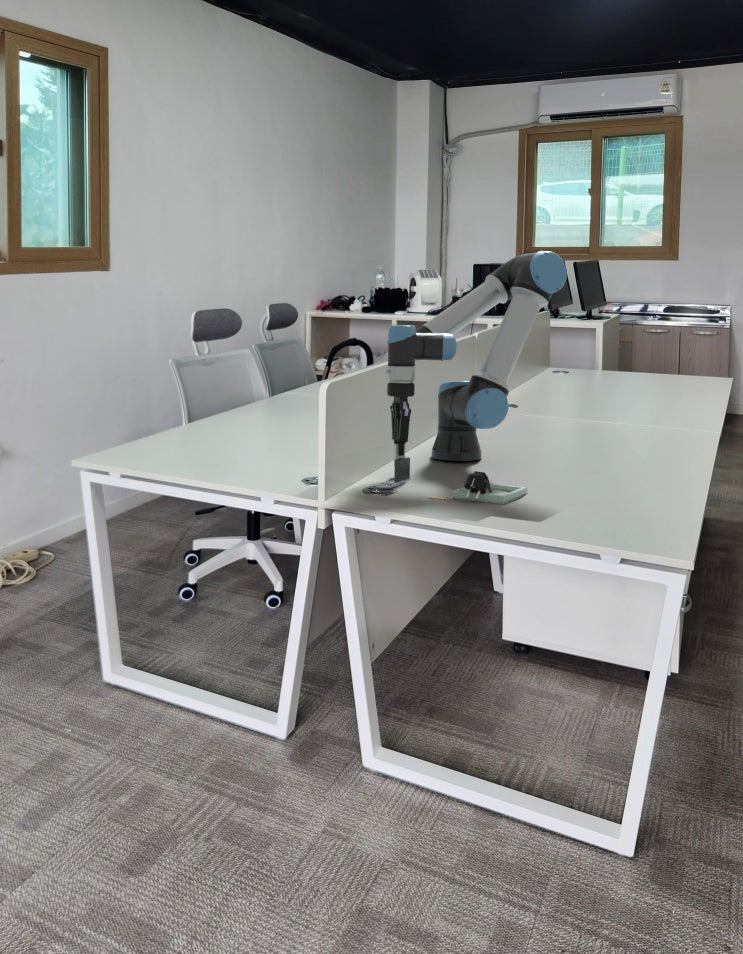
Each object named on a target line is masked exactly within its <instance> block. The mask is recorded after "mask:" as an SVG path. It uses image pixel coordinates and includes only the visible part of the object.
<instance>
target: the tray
mask: <svg viewBox="0 0 743 954" xmlns="http://www.w3.org/2000/svg"><path fill="white" fill-rule="evenodd" d="M490 489H496V490H502V491H509V492H508V493H506V492H505V493H502V492H501V493H499V492H497V493H496V492H491V493H490V492H486V493H485V494H483V493H480V495H479V498H478V500H476V499H475V497H476V494H477V493H474V492H471V493H470V496H469V498H466V495H467V492H468V490H467V489H465V487H464V486H463V487H461V488H458V489H455V490H452V499H454V500H461V501H470V502H478V503H488V504H498V505H505V504H509V503H511V502H513V501H516V500H518V499H520V498H521V497H522V496H524V495H526V494H528V487H527V486H517V485H516V486H515V485H507V484H505V485H504V484H496V483H490Z"/></svg>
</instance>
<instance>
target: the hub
mask: <svg viewBox="0 0 743 954" xmlns="http://www.w3.org/2000/svg"><path fill="white" fill-rule="evenodd" d="M374 490H377V491H379V492H375V493H374V494H377V493H380V494H379V495H383V494H385V495H384V496H388V495H389V494H391V493H393V494H395V493H394V492H391V490H393V489H392V488H391V489H376V488H375V489H374ZM391 495H392V494H391ZM389 496H390V495H389Z"/></svg>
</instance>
